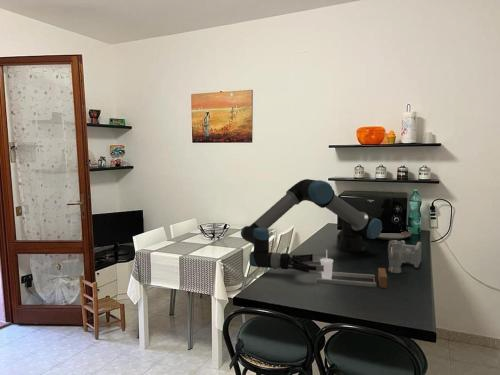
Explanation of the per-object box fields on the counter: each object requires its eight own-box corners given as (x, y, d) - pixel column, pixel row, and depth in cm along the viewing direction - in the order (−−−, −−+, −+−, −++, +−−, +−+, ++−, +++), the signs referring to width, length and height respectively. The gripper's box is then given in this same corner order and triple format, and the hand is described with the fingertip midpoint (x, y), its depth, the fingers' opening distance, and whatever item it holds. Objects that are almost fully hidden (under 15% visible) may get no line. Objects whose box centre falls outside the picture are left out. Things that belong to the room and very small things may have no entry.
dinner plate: (359, 235, 259) (359, 230, 258) (389, 231, 269) (389, 226, 269) (388, 244, 234) (388, 239, 233) (419, 239, 244) (419, 234, 244)
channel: (316, 282, 169) (316, 271, 168) (319, 273, 180) (319, 263, 180) (386, 288, 161) (387, 277, 160) (384, 278, 172) (384, 268, 171)
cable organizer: (417, 270, 183) (418, 247, 182) (395, 267, 188) (395, 245, 187) (421, 262, 195) (421, 241, 194) (400, 259, 201) (400, 238, 200)
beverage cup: (325, 281, 169) (325, 252, 168) (317, 277, 175) (317, 249, 174) (335, 279, 172) (336, 250, 170) (328, 275, 177) (328, 247, 176)
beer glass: (401, 269, 184) (402, 240, 182) (402, 274, 178) (403, 244, 176) (387, 268, 186) (387, 239, 185) (387, 272, 180) (388, 243, 178)
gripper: (285, 260, 191) (326, 263, 185) (275, 276, 167) (322, 280, 161) (285, 246, 190) (326, 249, 184) (275, 261, 166) (322, 264, 160)
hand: (325, 263), depth 172 cm, fingers open, 13 cm apart
